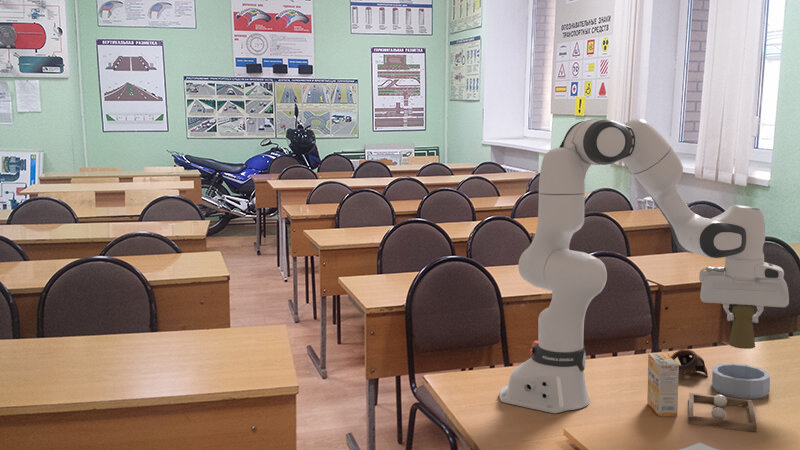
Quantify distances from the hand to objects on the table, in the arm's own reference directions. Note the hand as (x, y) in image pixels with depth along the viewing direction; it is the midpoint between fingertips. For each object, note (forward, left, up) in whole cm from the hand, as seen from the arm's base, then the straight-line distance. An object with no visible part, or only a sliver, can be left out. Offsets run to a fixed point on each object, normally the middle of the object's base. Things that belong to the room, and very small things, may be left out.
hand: (742, 321), depth 173 cm
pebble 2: (-6, -24, -18) cm, 30 cm away
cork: (0, 0, -7) cm, 7 cm away
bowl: (0, 0, -18) cm, 18 cm away
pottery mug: (-13, +8, -19) cm, 24 cm away
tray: (-5, -19, -18) cm, 27 cm away
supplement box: (-18, -21, -19) cm, 33 cm away
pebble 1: (-5, -14, -18) cm, 23 cm away
